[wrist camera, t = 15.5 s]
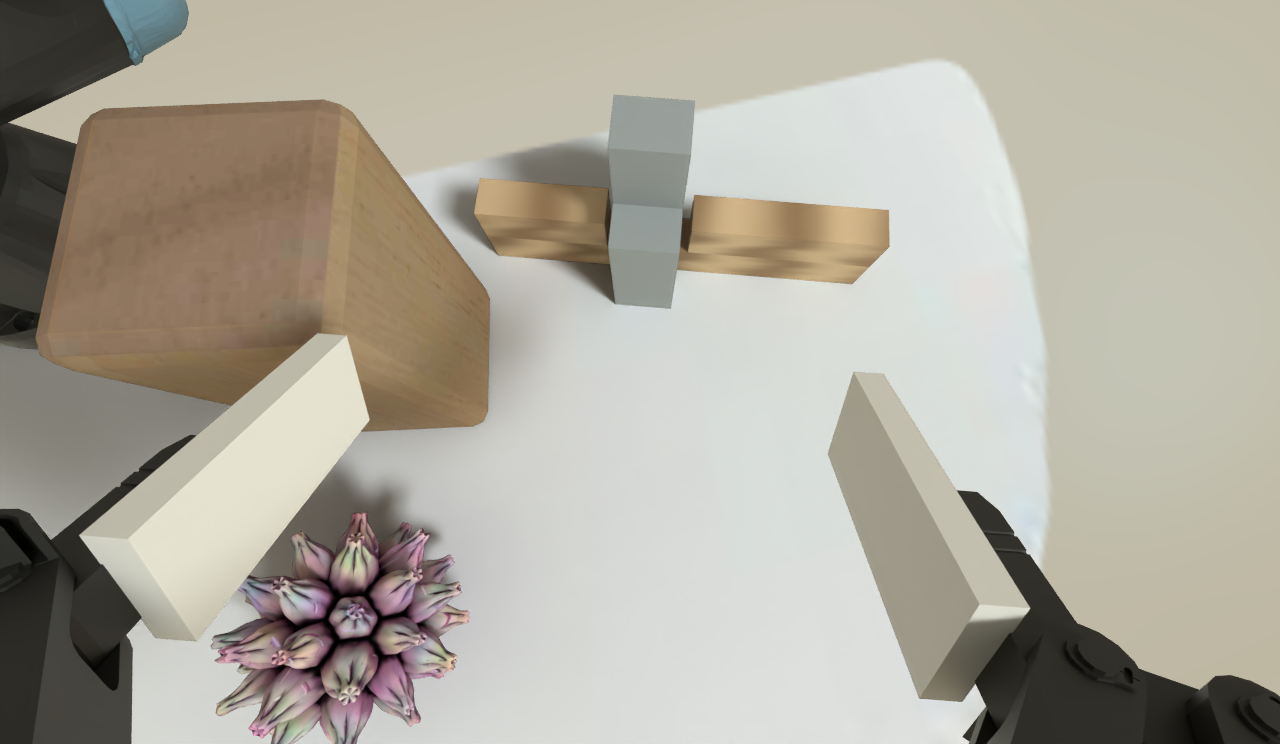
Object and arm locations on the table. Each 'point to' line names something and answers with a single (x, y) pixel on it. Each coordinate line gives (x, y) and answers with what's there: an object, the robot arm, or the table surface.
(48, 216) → the robot arm
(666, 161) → the grey stepped block
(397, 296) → the wooden block
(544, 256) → the oak slotted plate
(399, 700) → the flower
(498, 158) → the table surface
